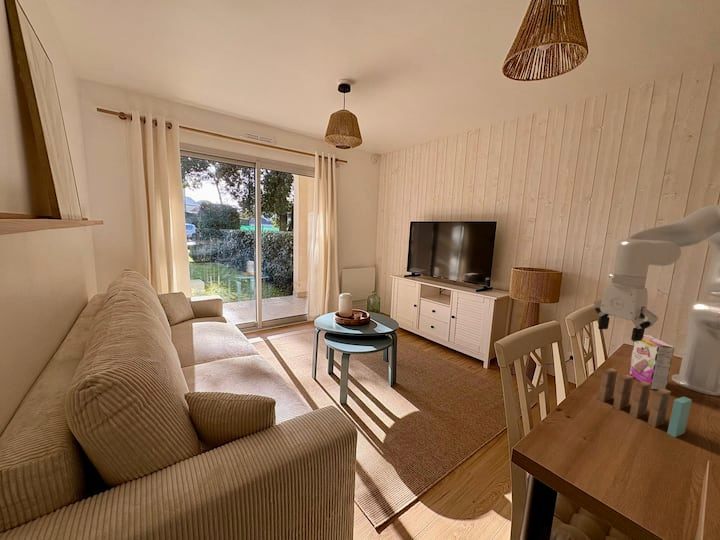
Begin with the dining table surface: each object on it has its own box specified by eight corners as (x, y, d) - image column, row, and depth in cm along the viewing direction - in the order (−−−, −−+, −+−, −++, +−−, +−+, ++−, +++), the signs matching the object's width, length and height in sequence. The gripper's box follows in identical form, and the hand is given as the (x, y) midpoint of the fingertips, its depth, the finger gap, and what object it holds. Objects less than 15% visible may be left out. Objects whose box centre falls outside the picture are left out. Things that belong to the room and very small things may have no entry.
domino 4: (656, 419, 84) (663, 388, 83) (664, 423, 83) (670, 391, 81) (647, 423, 82) (654, 391, 81) (654, 427, 81) (661, 394, 79)
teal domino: (676, 429, 80) (683, 396, 79) (684, 432, 79) (692, 399, 77) (667, 433, 79) (674, 399, 77) (675, 437, 77) (682, 403, 76)
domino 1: (606, 395, 96) (611, 368, 94) (612, 398, 94) (617, 370, 93) (597, 398, 94) (602, 370, 92) (603, 401, 92) (608, 372, 91)
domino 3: (638, 411, 88) (644, 380, 86) (645, 414, 87) (651, 383, 85) (629, 414, 86) (635, 383, 85) (636, 418, 85) (642, 386, 83)
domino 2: (622, 403, 92) (627, 374, 90) (628, 406, 90) (634, 376, 89) (612, 406, 90) (618, 376, 88) (619, 409, 89) (624, 379, 87)
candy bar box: (627, 373, 111) (634, 333, 109) (642, 375, 110) (650, 334, 108) (649, 389, 100) (658, 345, 98) (666, 391, 99) (675, 346, 97)
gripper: (590, 276, 95) (582, 325, 98) (652, 287, 78) (641, 346, 81) (608, 275, 96) (600, 324, 99) (673, 286, 80) (661, 345, 82)
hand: (618, 334), depth 90 cm, fingers open, 9 cm apart
